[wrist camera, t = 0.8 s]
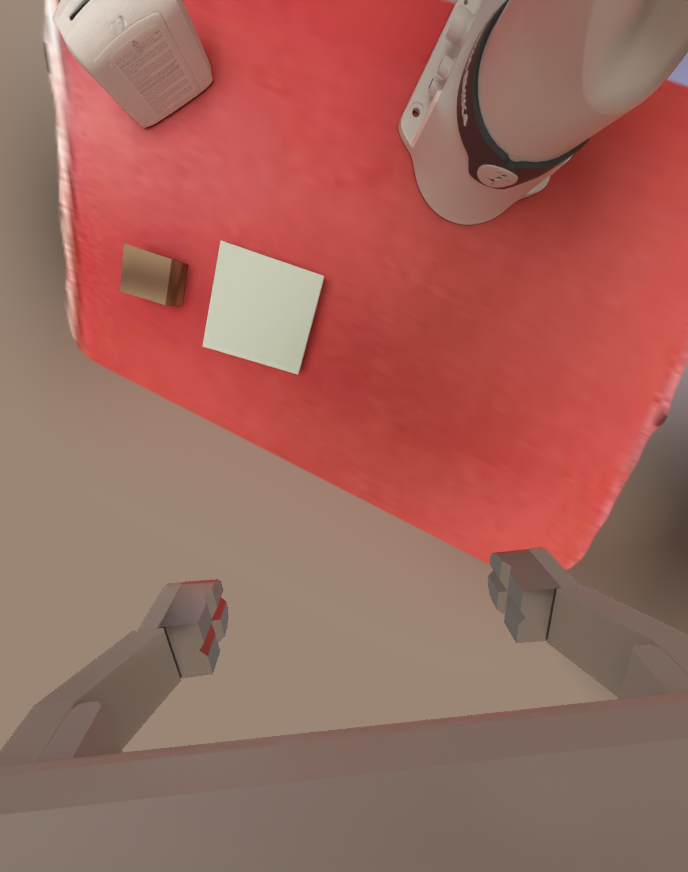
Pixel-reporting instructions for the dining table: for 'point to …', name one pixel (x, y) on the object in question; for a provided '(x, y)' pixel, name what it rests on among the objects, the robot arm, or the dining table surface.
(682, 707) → the robot arm
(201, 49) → the white slotted box
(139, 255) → the walnut cube
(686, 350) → the dining table surface
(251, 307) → the mint base block
